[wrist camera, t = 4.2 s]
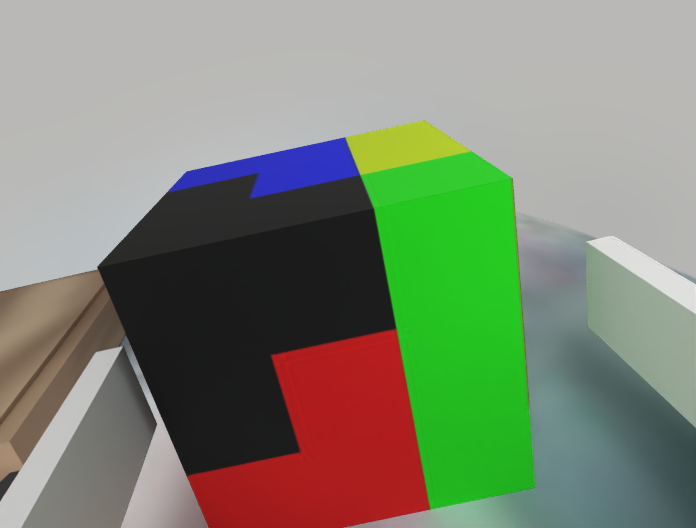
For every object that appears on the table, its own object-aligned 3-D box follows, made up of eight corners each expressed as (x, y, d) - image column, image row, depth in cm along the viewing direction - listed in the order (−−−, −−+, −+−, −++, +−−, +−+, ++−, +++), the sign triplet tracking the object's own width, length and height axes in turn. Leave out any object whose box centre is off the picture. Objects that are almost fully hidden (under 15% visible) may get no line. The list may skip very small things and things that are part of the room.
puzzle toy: (251, 370, 26) (186, 171, 22) (452, 327, 25) (424, 120, 21) (220, 554, 16) (97, 266, 12) (535, 489, 16) (512, 178, 12)
